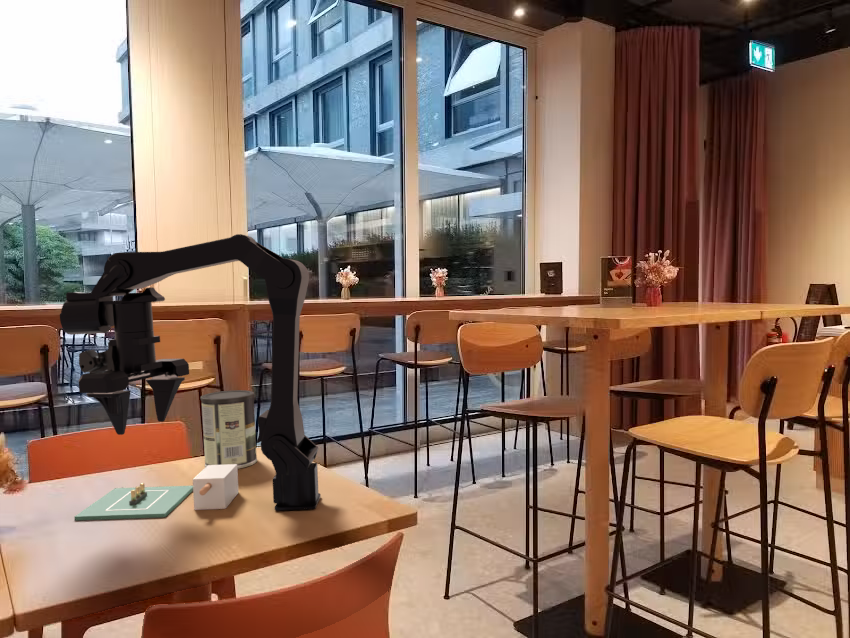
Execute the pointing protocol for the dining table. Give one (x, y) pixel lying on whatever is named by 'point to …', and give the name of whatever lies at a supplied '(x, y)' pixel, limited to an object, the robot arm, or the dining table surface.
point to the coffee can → (229, 428)
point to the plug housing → (215, 486)
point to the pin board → (136, 503)
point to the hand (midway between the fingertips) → (141, 427)
